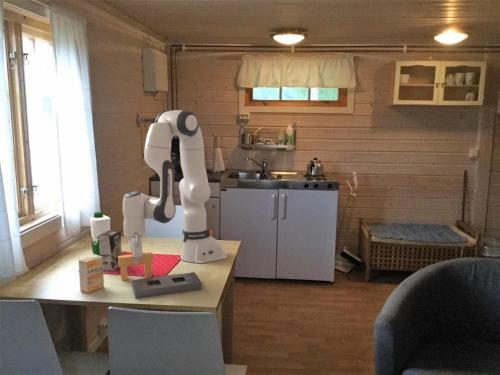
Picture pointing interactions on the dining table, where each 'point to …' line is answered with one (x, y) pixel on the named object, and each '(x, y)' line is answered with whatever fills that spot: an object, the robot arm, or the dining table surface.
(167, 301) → the dining table surface
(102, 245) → the coffee box
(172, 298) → the dining table surface
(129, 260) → the orange u-shaped block
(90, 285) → the supplement box
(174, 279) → the holed rail
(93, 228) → the milk carton
